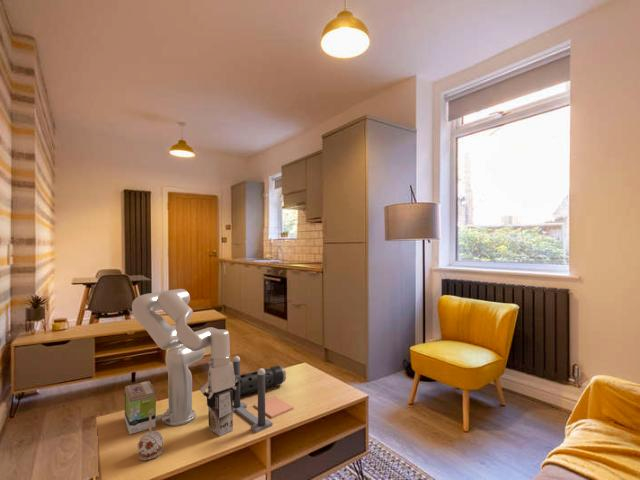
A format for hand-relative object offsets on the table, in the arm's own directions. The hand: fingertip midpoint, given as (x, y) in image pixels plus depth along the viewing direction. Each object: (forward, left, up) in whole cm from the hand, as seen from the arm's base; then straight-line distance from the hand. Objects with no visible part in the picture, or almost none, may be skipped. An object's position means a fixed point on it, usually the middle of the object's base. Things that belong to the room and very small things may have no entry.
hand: (221, 402), depth 135 cm
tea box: (-23, +29, -11) cm, 39 cm away
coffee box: (0, +1, -11) cm, 11 cm away
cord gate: (+13, +1, -11) cm, 17 cm away
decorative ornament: (-26, +3, -11) cm, 29 cm away
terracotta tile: (+26, +1, -11) cm, 28 cm away
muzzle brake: (+30, +21, -11) cm, 38 cm away
